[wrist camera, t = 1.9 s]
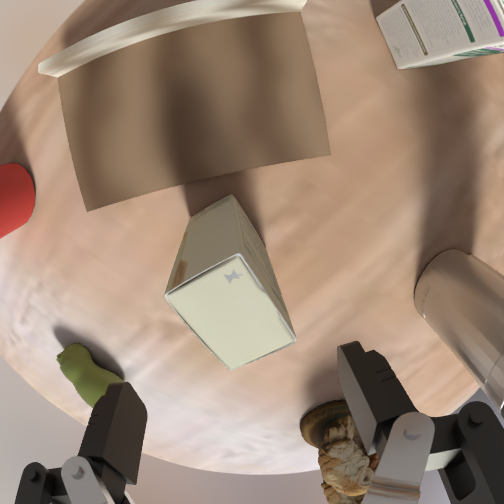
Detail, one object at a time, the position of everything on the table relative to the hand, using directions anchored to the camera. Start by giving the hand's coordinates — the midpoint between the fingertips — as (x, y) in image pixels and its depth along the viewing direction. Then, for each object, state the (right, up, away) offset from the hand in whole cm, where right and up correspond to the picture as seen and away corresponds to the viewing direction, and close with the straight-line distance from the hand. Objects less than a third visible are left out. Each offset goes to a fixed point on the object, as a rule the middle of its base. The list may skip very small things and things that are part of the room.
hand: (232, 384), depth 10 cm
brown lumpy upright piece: (+15, -22, +28) cm, 39 cm away
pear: (-18, -9, +20) cm, 29 cm away
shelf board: (-4, +17, +10) cm, 20 cm away
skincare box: (-1, +6, +15) cm, 17 cm away
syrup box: (+15, +25, +9) cm, 31 cm away
